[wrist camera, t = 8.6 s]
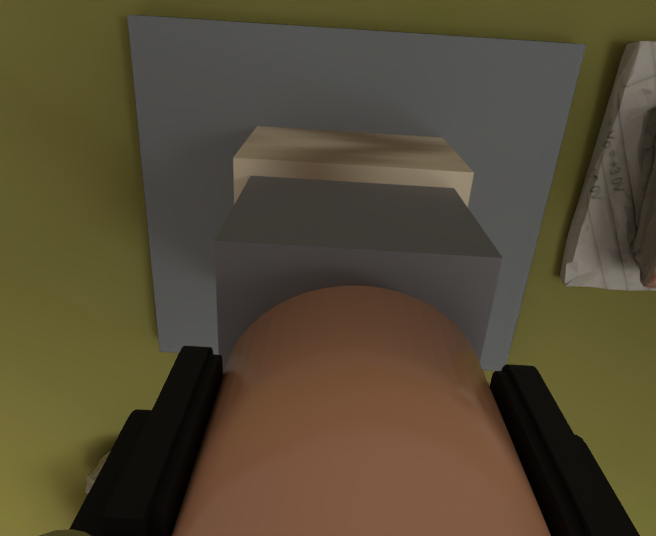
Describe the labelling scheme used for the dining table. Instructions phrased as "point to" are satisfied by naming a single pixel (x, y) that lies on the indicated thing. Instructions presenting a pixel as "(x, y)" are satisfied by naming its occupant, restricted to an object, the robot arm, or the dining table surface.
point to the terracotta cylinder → (356, 429)
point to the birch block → (351, 159)
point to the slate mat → (338, 115)
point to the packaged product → (619, 187)
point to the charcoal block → (351, 250)
